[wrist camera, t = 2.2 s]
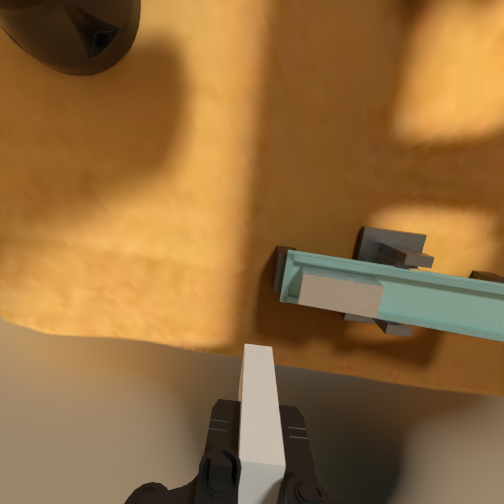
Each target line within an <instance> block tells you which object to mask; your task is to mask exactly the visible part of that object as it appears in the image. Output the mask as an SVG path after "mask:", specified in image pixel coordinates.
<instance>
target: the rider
mask: <svg viewBox="0 0 504 504" xmlns="http://www.w3.org/2000/svg"><path fill="white" fill-rule="evenodd" d="M383 291H384V286H383V285H382V284H381V283H380V282H379V281H378V280H377V279H376V278H375V277H374V276H368V275H362V274H356V273H349V272H343V271H337V270H331V269H325V268H319V267H313V266H307V265H302V271H301V277H300V282H299V288H298V304H301V305H306V306H312V307H317V308H323V309H328V310H334V311H339V312H345V313H350V314H356V315H361V316H367V317H372V318H377V314H378V310H379V307H380V303H381V299H382V295H383Z"/></svg>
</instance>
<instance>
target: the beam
mask: <svg viewBox="0 0 504 504" xmlns="http://www.w3.org/2000/svg"><path fill="white" fill-rule="evenodd" d="M302 265H307V266H313V267H319V268H325V269H331V270H337V271H343V272H349V273H356V274H362V275H368V276H374V277H375V278H376V279H377V280H378V281H379V282H380V283H381V284H382V285H383V286H384V291H383V295H382V299H381V303H380V307H379V310H378V314H377V319H382V320H388V321H393V322H399V323H404V324H410V325H415V326H421V327H426V328H432V329H437V330H443V331H448V332H454V333H459V334H465V335H470V336H476V337H481V338H487V339H492V340H498V341H503V342H504V284H503V283H497V282H490V281H484V280H478V279H471V278H465V277H459V276H452V275H446V274H440V273H433V272H427V271H421V270H420V269H417V268H416V267H407V268H402V267H395V266H389V265H383V264H376V263H370V262H364V261H357V260H351V259H345V258H338V257H332V256H326V255H319V254H313V253H307V252H300V251H294V250H288V253H287V259H286V266H285V272H284V278H283V284H282V290H281V296H280V302H284V303H287V302H288V303H294V304H298V288H299V282H300V277H301V271H302ZM299 305H301V304H299ZM305 306H306V305H305ZM310 307H312V306H310ZM316 308H317V307H316ZM321 309H323V308H321ZM327 310H328V309H327ZM333 311H334V310H333ZM338 312H339V311H338ZM344 313H345V312H344ZM349 314H350V313H349ZM355 315H356V314H355ZM360 316H361V315H360ZM366 317H367V316H366ZM371 318H372V317H371Z"/></svg>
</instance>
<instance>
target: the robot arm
mask: <svg viewBox="0 0 504 504" xmlns="http://www.w3.org/2000/svg"><path fill="white" fill-rule="evenodd" d="M140 10H141V0H0V26H1V27H2V29H3V30H4V31H5V32H6V34H7V35H8V36H9V37H10V38H11V39H12V40H13V41H14V42H15V43H16V44H17V45H18V46H19V47H20V48H21V49H23V50H24V51H25V52H26V53H28V54H29V55H31V56H32V57H34V58H35V59H37V60H39V61H40V62H42V63H44V64H45V65H47V66H49V67H51V68H53V69H55V70H57V71H60V72H63V73H66V74H71V75H91V74H95V73H99V72H102V71H104V70H106V69H108V68H110V67H111V66H113V65H114V64H115V63H117V62H118V61H119V60H120V59H121V58H122V57H123V56H124V54H125V53H126V52H127V50H128V49H129V47H130V46H131V44H132V42H133V40H134V37H135V35H136V32H137V29H138V25H139V20H140ZM124 504H341V503H339V502H337V501H335V500H334V499H332V498H331V497H330V496H329V495H328V494H326V493H325V491H324V489H323V488H322V486H321V485H320V484H319V482H318V480H317V476H316V473H315V468H314V463H313V459H312V454H311V450H310V445H309V441H308V436H307V432H306V427H305V422H304V418H303V416H302V414H301V413H300V411H299V410H298V408H297V407H292V406H284V405H278V396H277V388H276V379H275V371H274V362H273V354H272V347H268V346H259V345H251V344H245V347H244V355H243V362H242V369H241V377H240V384H239V397H238V401H231V400H222V399H219V400H218V401H217V402H216V404H215V405H214V407H213V408H212V414H211V419H210V424H209V430H208V436H207V441H206V446H205V451H204V455H203V456H202V459H201V462H200V464H199V473H198V475H197V476H196V477H195V478H194V479H193V481H192V482H190V483H188V484H187V485H185V486H182V487H179V488H176V489H172V490H168V489H167V488H166V487H165V486H163V485H162V484H161V483H154V482H151V483H147V484H143V485H142V486H140V487H139V488H137V489H135V490H134V492H133V493H132V494H131V495H130V496H129V497H128V499H127V500H126V502H125V503H124ZM362 504H371V503H362Z"/></svg>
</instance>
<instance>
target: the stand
mask: <svg viewBox="0 0 504 504" xmlns="http://www.w3.org/2000/svg"><path fill="white" fill-rule="evenodd" d="M426 236H427V235H424V234H418V233H410V232H402V231H395V230H387V229H379V228H371V227H364V226H362V230H361V234H360V239H359V243H358V247H357V252H356V256H355V260H357V261H364V262H370V263H376V264H383V265H389V266H395V267H402V268H407V267H416V268H417V267H418V266H420V267H427V268H431V267H432V263H433V260H434V257H432V256H429V255H427V254H424V253H422V250H423V246H424V243H425V239H426ZM288 250H294V251H296V249H295V248H291V247H283V246H277V248H276V254H275V261H274V267H273V274H272V280H271V281H272V286H273V291H274V292H280V293H281V290H282V284H283V278H284V272H285V266H286V259H287V253H288ZM471 279H478V280H484V281H490V282H497V283H503V284H504V277H501V276H498V275H495V274H493V273H489V272H481V271H473V273H472V276H471ZM342 317H343V319H344V320H349V321H358V322H366V323H374V324H377V325H378V326H379V327H380V328H381V329H382V331H383V332H384V333H385V334H393V335H401V336H409V337H411V334H412V330H413V327H412V326H411V325H410V324H404V323H399V322H393V321H388V320H382V319H377V318H371V317H366V316H360V315H355V314H349V313H344V312H343V314H342Z"/></svg>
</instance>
